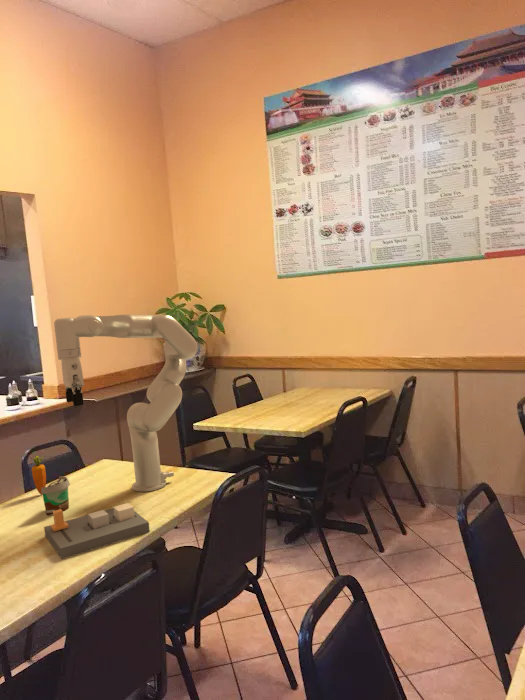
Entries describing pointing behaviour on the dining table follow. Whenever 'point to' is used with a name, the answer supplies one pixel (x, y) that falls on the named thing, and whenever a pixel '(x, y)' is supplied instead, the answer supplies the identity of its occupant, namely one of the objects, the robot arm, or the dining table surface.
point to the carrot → (39, 474)
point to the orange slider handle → (58, 521)
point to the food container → (56, 495)
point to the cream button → (123, 512)
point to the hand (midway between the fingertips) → (75, 403)
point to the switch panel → (93, 533)
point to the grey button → (98, 519)
